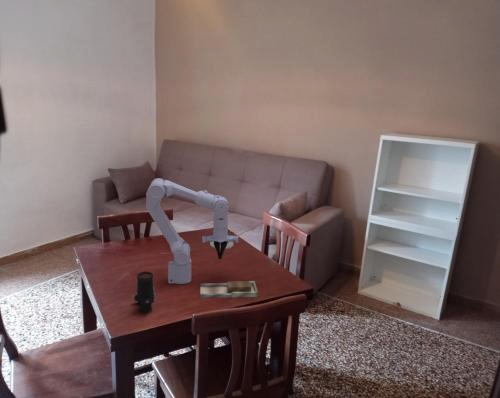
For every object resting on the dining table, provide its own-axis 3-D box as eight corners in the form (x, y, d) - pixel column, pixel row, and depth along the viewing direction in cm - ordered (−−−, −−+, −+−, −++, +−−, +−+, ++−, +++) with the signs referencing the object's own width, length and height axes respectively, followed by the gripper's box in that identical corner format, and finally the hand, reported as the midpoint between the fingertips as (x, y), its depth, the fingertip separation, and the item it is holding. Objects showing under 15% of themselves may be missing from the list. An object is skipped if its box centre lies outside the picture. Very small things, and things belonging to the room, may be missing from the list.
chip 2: (239, 294, 151) (239, 287, 150) (238, 288, 155) (238, 281, 154) (250, 293, 152) (251, 286, 151) (249, 288, 156) (250, 281, 155)
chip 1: (227, 294, 150) (228, 287, 150) (227, 288, 155) (227, 281, 154) (239, 294, 151) (239, 287, 150) (238, 288, 155) (238, 281, 154)
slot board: (200, 299, 147) (200, 293, 146) (200, 287, 156) (200, 281, 155) (257, 298, 150) (257, 292, 149) (254, 286, 159) (254, 281, 158)
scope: (154, 265, 142) (159, 278, 133) (154, 299, 146) (160, 313, 137) (130, 268, 139) (134, 281, 130) (132, 303, 143) (136, 317, 134)
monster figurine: (219, 251, 192) (220, 231, 189) (205, 243, 200) (205, 225, 197) (238, 245, 200) (238, 227, 197) (223, 238, 208) (224, 220, 205)
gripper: (202, 230, 151) (202, 262, 155) (239, 230, 153) (238, 261, 156) (202, 224, 158) (202, 255, 161) (237, 224, 159) (236, 254, 163)
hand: (219, 258), depth 159 cm, fingers closed
